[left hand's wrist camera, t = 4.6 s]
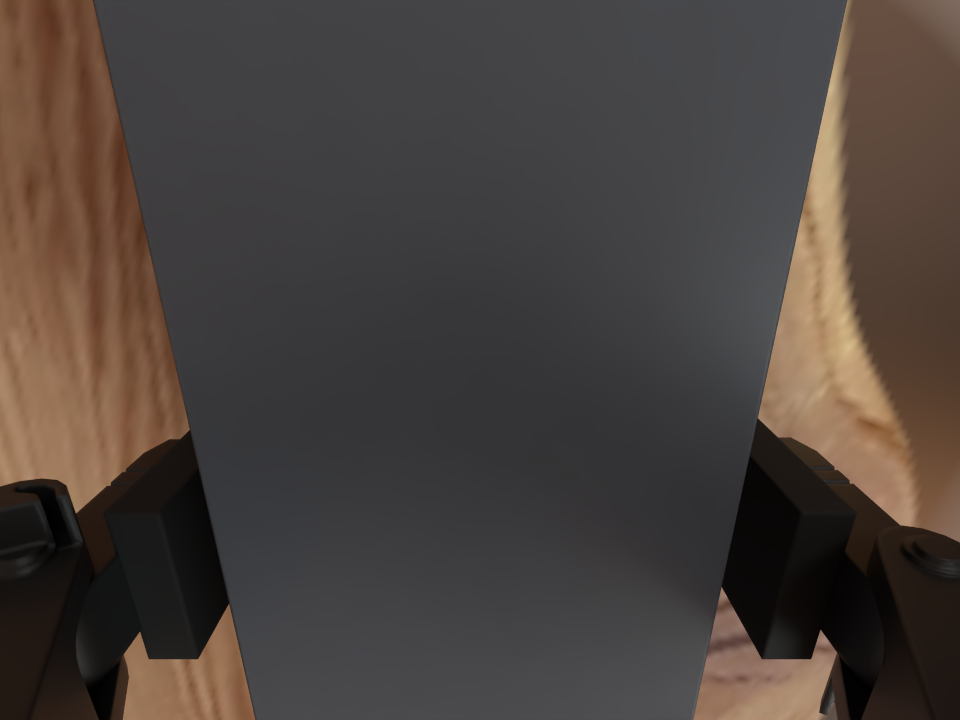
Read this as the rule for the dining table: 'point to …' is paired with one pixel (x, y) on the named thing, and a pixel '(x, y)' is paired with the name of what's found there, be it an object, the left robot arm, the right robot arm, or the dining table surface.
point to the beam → (471, 328)
